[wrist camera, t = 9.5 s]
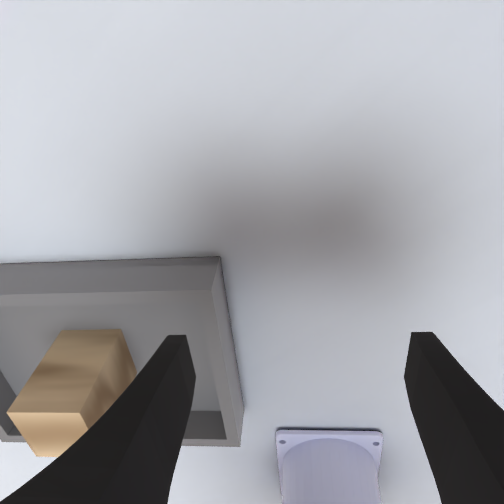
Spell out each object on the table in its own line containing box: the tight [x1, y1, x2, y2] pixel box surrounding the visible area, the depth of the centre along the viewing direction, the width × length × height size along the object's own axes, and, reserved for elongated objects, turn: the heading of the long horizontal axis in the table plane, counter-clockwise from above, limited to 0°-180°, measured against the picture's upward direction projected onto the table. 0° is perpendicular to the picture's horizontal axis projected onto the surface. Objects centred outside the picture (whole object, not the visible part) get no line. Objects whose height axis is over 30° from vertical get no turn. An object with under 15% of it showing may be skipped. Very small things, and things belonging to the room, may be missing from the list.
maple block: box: [6, 329, 137, 457], centre depth 24 cm, size 4×4×6 cm
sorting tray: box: [0, 257, 244, 447], centre depth 26 cm, size 14×18×3 cm
